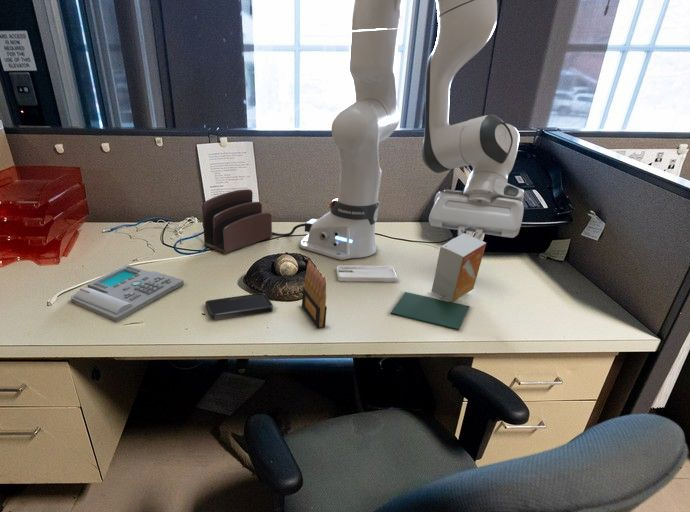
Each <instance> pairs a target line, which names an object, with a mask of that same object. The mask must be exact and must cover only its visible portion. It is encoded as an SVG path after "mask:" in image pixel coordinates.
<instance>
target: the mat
mask: <svg viewBox="0 0 690 512" xmlns="http://www.w3.org/2000/svg"><path fill="white" fill-rule="evenodd" d="M403 293H404V294H403V295H402V296H401V297H400V299H399V300H398V301H397V303H396V304H395V306H394V308H393V309H392V310H391V312H390V315H393V316H397V317H401V318H406V319H410V320H413V321H417V322H422V323H425V324H430V325H434V326H438V327H442V328H446V329H450V330H455V331H459V330H460V328H461V326H462V324H463V322H464V319H465V317H466V315H467V313H468V310H469V309H470V306H469V305H466V304H462V303H457V302H449V301H447V300H445V299H439V298H436V297H435V298H434V297H430V296H426V295H422V294H421V295H420V294H417V293H411V292H409V291H408V292H407V291H405V292H403Z"/></svg>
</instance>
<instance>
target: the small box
mask: <svg viewBox="0 0 690 512" xmlns="http://www.w3.org/2000/svg"><path fill="white" fill-rule="evenodd" d="M486 246H487V242H485V241H483V240H481V239H476V238H474V236H473V235H470V234H467V233H465V232H464V233H463V234H461V235H459V236H458V235H457V236H456V237H454V238H452V239H450V240H449V241H447V242H446V243H444V244H442V245H441V246H440V247H439V252H438V257H437V261H436V266H435V272H434V277H433V281H432V282H433V283H432V286H431V293H433V294H434V295H436V296H438V297H440V298H441V299H442V300H444V301H448V302H453V303H455V302H456V301H457V300H458V299H460V298H461V297H463V296H465V295H467V294H468V293H469V292H471V291H473V290H474V288H475V285H476V281H477V277H478V274H479V270H480V267H481V263H482V260H483V256H484V253H485V249H486Z"/></svg>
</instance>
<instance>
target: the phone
mask: <svg viewBox="0 0 690 512" xmlns="http://www.w3.org/2000/svg"><path fill="white" fill-rule="evenodd" d="M273 307H274V305H273V303H272V302H271V300H270V299H269V297H268V296H267V294H266V293H264V292H258V293H252V294H244V295H236V296H229V297H223V298H216V299H215V298H213V299H208V300H206V301H205V309H206V312H207V314H208V316H209V318H210V319H211V320H212V321H217V320H223V319H229V318H236V317H243V316H251V315H257V314H258V315H259V314H265V313H271V312H273V309H274V308H273Z"/></svg>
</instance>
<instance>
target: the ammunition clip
mask: <svg viewBox="0 0 690 512" xmlns="http://www.w3.org/2000/svg"><path fill="white" fill-rule="evenodd" d="M314 264H315V263H313V262H312V261H311V260H310V259H309V260H308V262H307V264H306V272H305V277H304V287H303V288H302V298H301V309H302V310H303V311H304V312H305V313H306V315H307V317H308V318H309V320H310V321H311V322H312V324H313V325H314V327H315V328H316V329H324V328H326V322H327V321H326V320H327V308H328V306H327V305H326V304H327V278H326V276H325V275H323V273H322V272H321V271H320V270H319V269H317V266H315V265H314Z"/></svg>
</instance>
